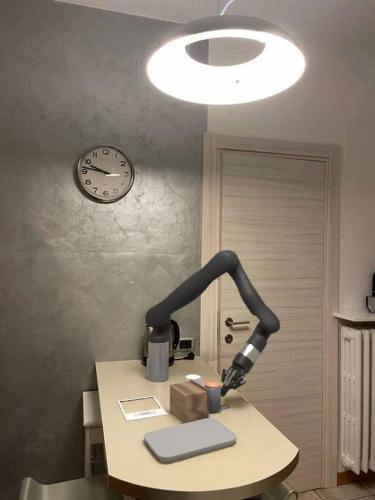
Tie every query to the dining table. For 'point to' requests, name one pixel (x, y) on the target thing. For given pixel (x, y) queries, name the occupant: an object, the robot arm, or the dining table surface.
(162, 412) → the photo frame
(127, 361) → the dining table surface
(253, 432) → the dining table surface
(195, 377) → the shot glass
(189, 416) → the brown rectangular block
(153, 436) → the tablet
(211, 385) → the push knob
